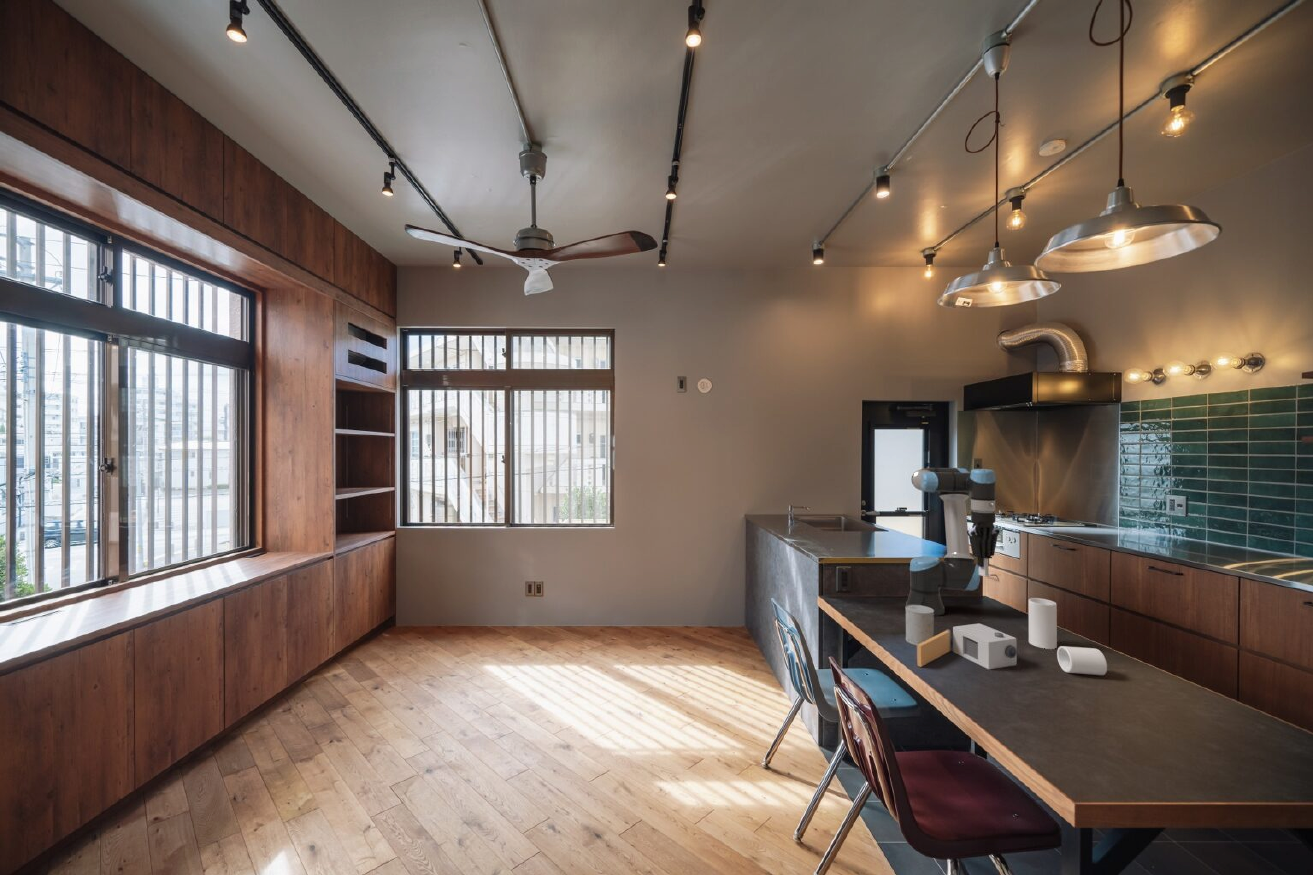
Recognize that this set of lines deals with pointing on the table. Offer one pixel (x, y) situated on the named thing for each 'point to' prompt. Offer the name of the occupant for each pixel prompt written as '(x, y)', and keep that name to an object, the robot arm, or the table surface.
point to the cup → (1043, 623)
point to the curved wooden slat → (933, 648)
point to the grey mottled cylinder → (919, 624)
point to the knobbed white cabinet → (985, 646)
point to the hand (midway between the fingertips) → (983, 575)
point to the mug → (1081, 660)
